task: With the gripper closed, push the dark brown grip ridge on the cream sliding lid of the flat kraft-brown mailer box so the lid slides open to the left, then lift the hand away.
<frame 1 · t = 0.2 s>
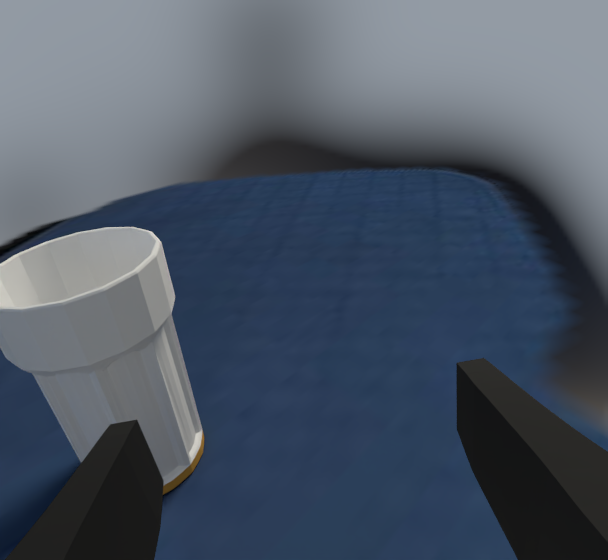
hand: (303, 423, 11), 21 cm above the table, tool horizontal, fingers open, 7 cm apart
cup: (148, 458, 40), on the table
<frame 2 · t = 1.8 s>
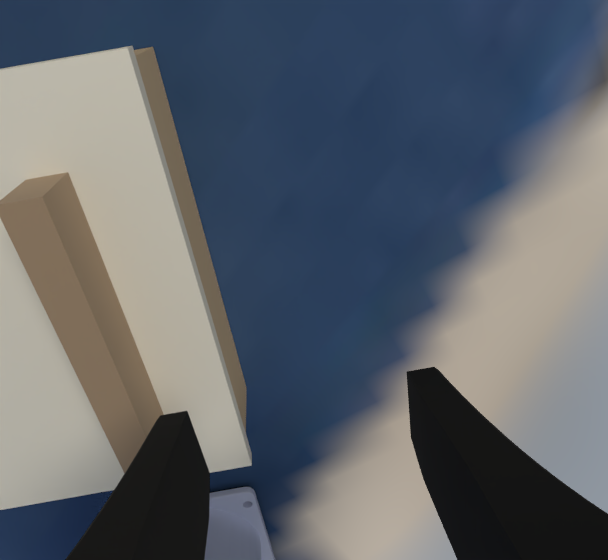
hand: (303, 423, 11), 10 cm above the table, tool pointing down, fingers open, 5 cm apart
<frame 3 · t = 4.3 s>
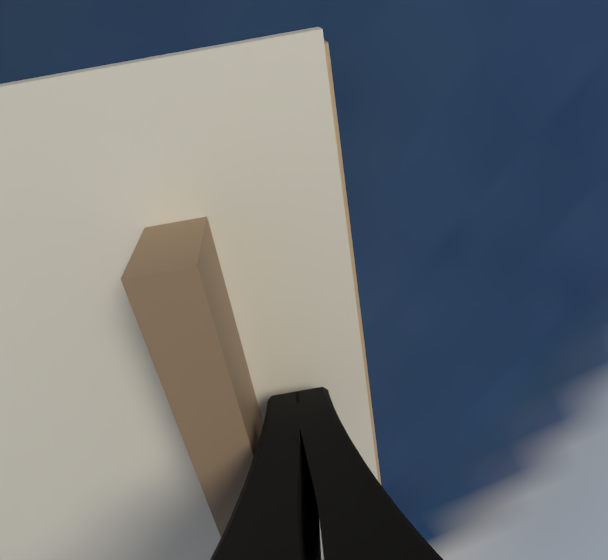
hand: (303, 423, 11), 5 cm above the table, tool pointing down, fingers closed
mailer box: (30, 350, 16), on the table
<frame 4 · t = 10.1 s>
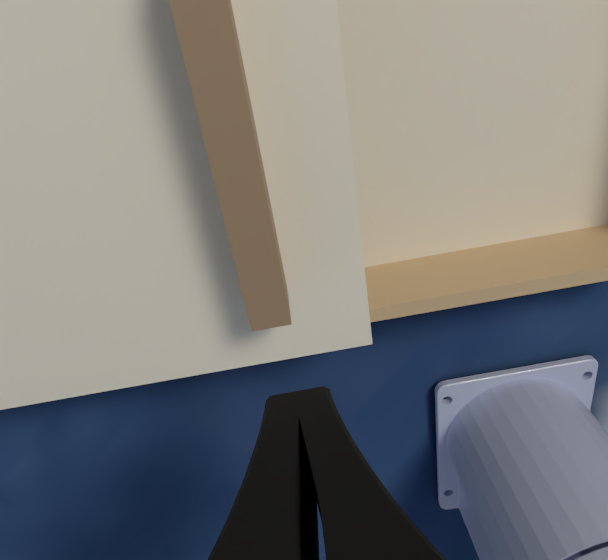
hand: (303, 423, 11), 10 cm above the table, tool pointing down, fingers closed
mailer box: (395, 84, 18), on the table
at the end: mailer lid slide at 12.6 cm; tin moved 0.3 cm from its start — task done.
